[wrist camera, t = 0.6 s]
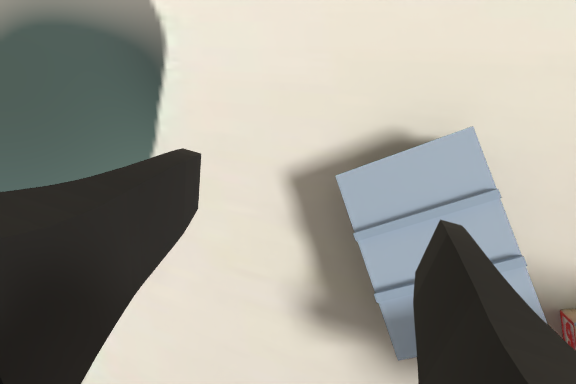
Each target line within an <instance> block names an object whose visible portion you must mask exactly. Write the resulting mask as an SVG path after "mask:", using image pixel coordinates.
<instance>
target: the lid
mask: <svg viewBox="0 0 576 384" xmlns="http://www.w3.org/2000/svg"><path fill="white" fill-rule="evenodd" d="M335 177H336V179H337V182H338V185H339V188H340V191H341V194H342V197H343V200H344V203H345V206H346V209H347V212H348V215H349V218H350V221H351V224H352V227H353V229H354V233H353V235H354V238H355V241H358V244H359V247H360V250H361V253H362V256H363V259H364V262H365V265H366V268H367V271H368V274H369V277H370V279H371V282H372V285H373V288H374V291H375V293H374V297H375V299H376V302H377V303H379V306H380V309H381V312H382V315H383V318H384V321H385V324H386V326H387V329H388V332H389V335H390V338H391V341H392V344H393V347H394V350H395V353H396V356H397V359H398V360H403V359H409V358H414V357H417V350H416V337H415V324H414V309H413V296H414V282H415V272H416V269H417V267H418V265H419V263H420V261H421V259H422V257H423V255H424V253H425V250H426V248H427V246H428V244H429V242H430V240H431V238H432V236H433V233H434V231H435V229H436V227H437V225H438V223H439V221H440V219H441V220H444V221H448V222H451V223H455V224H459V225H462V226H463V227H464V228H465V229H466V230H467V232H468V233H469V234H470V235H471V236H472V238H473V239H474V240H475V242H476V243H477V244H478V245H479V247H480V248H481V249H482V251H483V252H484V253H485V254H486V256H487V257H488V258H489V260H490V261H491V262H492V263H493V265H494V266H495V267H496V268H497V270H498V271H499V272H500V273H501V274H502V276H503V277H504V278H505V279H506V280H507V282H508V283H509V284H510V285H511V286H512V288H513V289H514V290H515V291H516V292H517V293H518V294H519V295H520V296H521V298H522V299H523V300H524V301H525V302H526V303H527V304H528V305H529V306H530V307H531V308H532V310H533V311H534V312H535V313H536V314H537V315H538V316H539V317H540V318H541V319H542V320H543V321H544V322H545V323H546V324H547V321H546V319H545V316H544V313H543V311H542V308H541V305H540V303H539V300H538V297H537V295H536V292H535V289H534V287H533V284H532V281H531V279H530V276H529V273H528V271H527V268H526V266H527V264H526V261H525V259H524V256H522V255H521V252H520V250H519V247H518V244H517V242H516V239H515V236H514V234H513V231H512V228H511V226H510V223H509V220H508V218H507V215H506V212H505V210H504V207H503V204H502V202H501V199H500V198H501V195H500V192H499V190H498V189H497V188H496V186H495V183H494V180H493V178H492V175H491V172H490V170H489V167H488V165H487V162H486V159H485V157H484V154H483V151H482V149H481V146H480V143H479V141H478V138H477V135H476V133H475V130H474V127H473V126H472V127H469V128H466V129H464V130H461V131H458V132H455V133H452V134H450V135H447V136H444V137H441V138H438V139H436V140H433V141H430V142H427V143H425V144H422V145H419V146H416V147H413V148H411V149H408V150H405V151H402V152H400V153H397V154H394V155H391V156H388V157H386V158H383V159H380V160H377V161H375V162H372V163H369V164H366V165H363V166H361V167H358V168H355V169H352V170H350V171H347V172H344V173H341V174H338V175H336V176H335Z"/></svg>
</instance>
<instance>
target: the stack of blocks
mask: <svg viewBox="0 0 576 384" xmlns="http://www.w3.org/2000/svg"><path fill="white" fill-rule="evenodd" d="M560 315H561V323H562V332H563V339H564V341H565V342H567V343H568V344H569V345H570V346H571V347H572V348H573V349H574V350H576V309H562V310H560Z"/></svg>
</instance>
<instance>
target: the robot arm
mask: <svg viewBox="0 0 576 384" xmlns="http://www.w3.org/2000/svg"><path fill="white" fill-rule="evenodd" d="M200 166H201V153H197V152H193V151H190V150H186V149H178V150H174V151H171V152H168V153H165V154H162V155H159V156H156V157H153V158H150V159H147V160H144V161H141V162H138V163H135V164H132V165H129V166H126V167H123V168H119V169H115V170H112V171H109V172H105V173H102V174H98V175H95V176H91V177H87V178H83V179H79V180H75V181H70V182H65V183H60V184H55V185H49V186H43V187H36V188H29V189H22V190H14V191H7V192H0V384H81V382H82V381H83V379H84V377H85V375H86V374H87V372H88V370H89V368H90V367H91V365H92V363H93V361H94V360H95V358H96V356H97V354H98V353H99V351H100V349H101V348H102V346H103V344H104V343H105V341H106V339H107V338H108V336H109V335H110V333H111V331H112V330H113V328H114V326H115V325H116V323H117V321H118V320H119V318H120V317H121V315H122V314H123V312H124V311H125V309H126V307H127V306H128V304H129V303H130V301H131V300H132V298H133V297H134V295H135V294H136V293H137V291H138V290H139V289H140V287H141V286H142V284H143V283H144V282H145V281H146V280H147V278H148V277H149V276H150V275H151V273H152V272H153V271H154V270H155V268H156V267H157V266H158V265H159V264H160V262H161V261H162V260H163V259H164V257H165V256H166V255H167V254H168V252H169V251H170V250H171V249H172V247H173V246H174V245H175V244H176V242H177V241H178V240H179V239H180V237H181V236H182V235H183V233H184V232H185V230H186V228H187V227H188V225H189V224H190V222H191V220H192V218H193V217H194V215H195V213H196V211H197V209H198V200H199V183H200ZM413 309H414V324H415V337H416V350H417V363H418V379H419V384H576V350H574V349H573V348H572V347H571V346H570V345H569V344H568V343H567V342H565V341H564V340H563V339H562V338H561V337H560V336H559V335H558V334H557V333H556V332H555V331H554V330H553V329H552V328H551V327H550V326H549V325H548V324H546V323H545V322H544V321H543V320H542V319H541V318H540V317H539V316H538V315H537V314H536V313H535V312H534V311H533V310H532V308H531V307H530V306H529V305H528V304H527V303H526V302H525V301H524V300H523V299H522V298H521V296H520V295H519V294H518V293H517V292H516V291H515V290H514V289H513V288H512V286H511V285H510V284H509V283H508V282H507V280H506V279H505V278H504V277H503V276H502V274H501V273H500V272H499V271H498V270H497V268H496V267H495V266H494V265H493V263H492V262H491V261H490V260H489V258H488V257H487V256H486V254H485V253H484V252H483V251H482V249H481V248H480V247H479V245H478V244H477V243H476V242H475V240H474V239H473V238H472V236H471V235H470V234H469V233H468V232H467V230H466V229H465V228H464V227H463V226H462V225H459V224H455V223H451V222H448V221H444V220H441V219H440V221H439V223H438V225H437V227H436V229H435V231H434V233H433V236H432V238H431V240H430V242H429V244H428V246H427V248H426V250H425V253H424V255H423V257H422V259H421V261H420V263H419V265H418V267H417V269H416V272H415V282H414V296H413Z"/></svg>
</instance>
